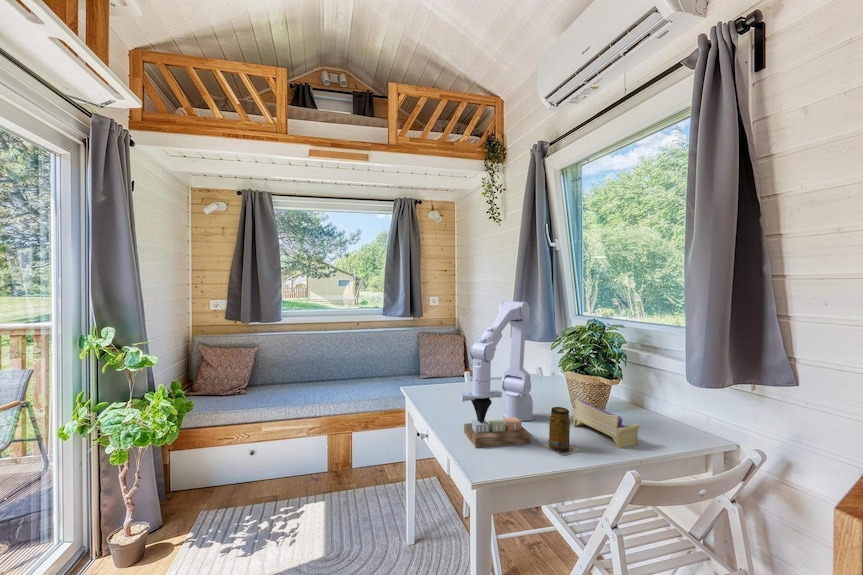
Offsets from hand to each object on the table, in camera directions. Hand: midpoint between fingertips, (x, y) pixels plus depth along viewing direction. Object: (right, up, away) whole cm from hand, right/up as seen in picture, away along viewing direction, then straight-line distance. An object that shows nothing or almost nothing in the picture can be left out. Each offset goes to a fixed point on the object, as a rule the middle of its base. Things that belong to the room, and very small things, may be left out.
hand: (480, 421), depth 129 cm
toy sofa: (+42, -7, +5) cm, 43 cm away
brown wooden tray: (+5, -6, +1) cm, 8 cm away
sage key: (+5, -4, +1) cm, 7 cm away
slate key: (0, -4, 0) cm, 4 cm away
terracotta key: (+11, -4, +2) cm, 12 cm away
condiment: (+24, -7, -6) cm, 26 cm away
